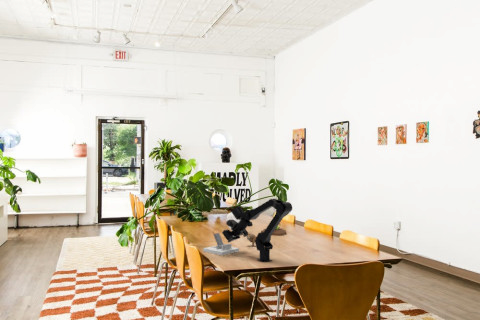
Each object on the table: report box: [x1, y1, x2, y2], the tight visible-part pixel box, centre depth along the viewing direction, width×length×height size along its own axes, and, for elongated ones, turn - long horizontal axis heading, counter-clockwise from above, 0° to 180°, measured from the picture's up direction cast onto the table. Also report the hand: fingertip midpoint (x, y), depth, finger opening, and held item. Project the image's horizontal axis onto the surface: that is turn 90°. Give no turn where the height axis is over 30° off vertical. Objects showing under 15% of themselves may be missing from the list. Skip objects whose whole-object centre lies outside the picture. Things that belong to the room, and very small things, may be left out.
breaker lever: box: [211, 230, 225, 248], centre depth 281 cm, size 2×5×12 cm
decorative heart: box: [225, 211, 240, 231], centre depth 342 cm, size 18×11×17 cm, turn 106°
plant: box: [260, 222, 287, 237], centre depth 349 cm, size 20×20×11 cm
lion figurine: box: [246, 232, 265, 248], centre depth 297 cm, size 15×5×9 cm, turn 92°
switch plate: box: [202, 243, 240, 256], centre depth 279 cm, size 16×16×5 cm
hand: (228, 241), depth 275 cm, fingers closed
